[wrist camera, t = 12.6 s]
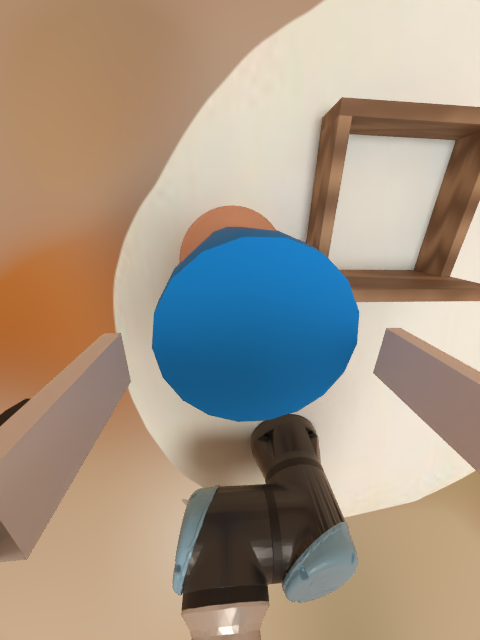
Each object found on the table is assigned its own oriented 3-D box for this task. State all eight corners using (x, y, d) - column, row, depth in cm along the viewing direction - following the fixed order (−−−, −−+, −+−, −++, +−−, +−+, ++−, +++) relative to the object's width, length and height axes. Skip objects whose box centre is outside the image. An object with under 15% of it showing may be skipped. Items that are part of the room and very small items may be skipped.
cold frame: (419, 279, 39) (497, 300, 28) (301, 278, 37) (335, 302, 26) (470, 126, 30) (612, 71, 19) (322, 117, 29) (386, 51, 18)
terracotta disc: (278, 310, 39) (279, 312, 38) (185, 311, 38) (184, 313, 37) (287, 207, 33) (289, 207, 32) (176, 204, 31) (174, 204, 30)
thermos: (258, 303, 37) (320, 430, 14) (193, 292, 35) (144, 416, 12) (275, 234, 33) (400, 256, 10) (202, 218, 31) (154, 202, 8)
